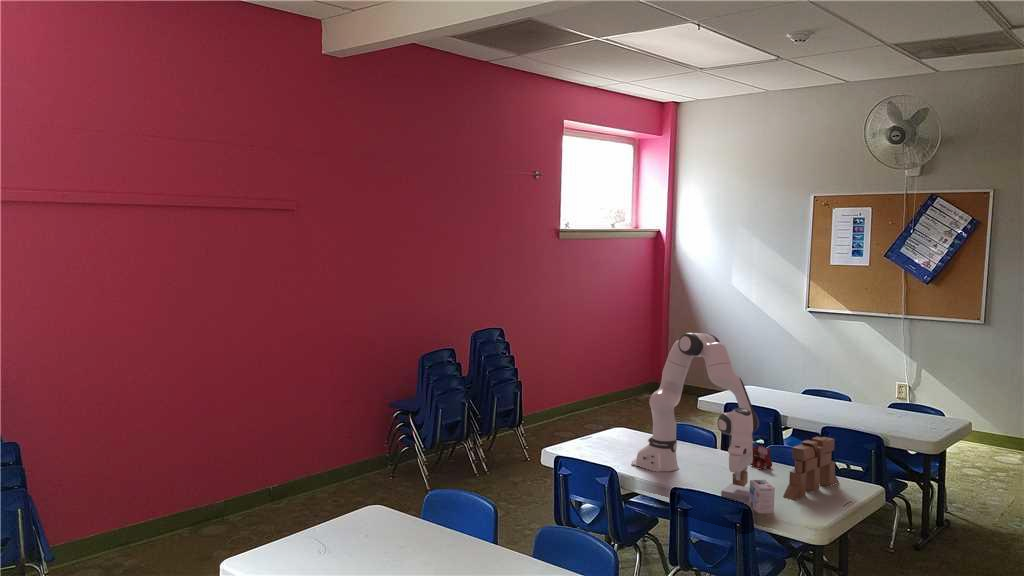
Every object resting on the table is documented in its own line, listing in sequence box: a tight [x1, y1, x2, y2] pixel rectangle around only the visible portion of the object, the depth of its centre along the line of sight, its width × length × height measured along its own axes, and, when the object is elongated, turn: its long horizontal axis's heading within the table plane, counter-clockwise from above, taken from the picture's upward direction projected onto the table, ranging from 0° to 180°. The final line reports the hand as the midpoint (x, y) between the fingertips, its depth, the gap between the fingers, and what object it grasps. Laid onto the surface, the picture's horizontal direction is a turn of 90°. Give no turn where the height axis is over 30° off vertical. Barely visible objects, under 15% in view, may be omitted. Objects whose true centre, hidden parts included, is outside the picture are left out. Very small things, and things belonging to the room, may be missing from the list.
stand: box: [720, 483, 750, 503], centre depth 341 cm, size 12×12×2 cm
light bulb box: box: [748, 479, 776, 514], centre depth 324 cm, size 11×7×11 cm, turn 5°
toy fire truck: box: [749, 444, 773, 470], centre depth 385 cm, size 7×12×10 cm, turn 22°
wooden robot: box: [782, 436, 840, 501], centre depth 350 cm, size 40×9×23 cm, turn 132°
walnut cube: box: [732, 470, 749, 487], centre depth 341 cm, size 5×5×5 cm
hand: (741, 477), depth 341 cm, fingers closed on walnut cube, 5 cm apart
